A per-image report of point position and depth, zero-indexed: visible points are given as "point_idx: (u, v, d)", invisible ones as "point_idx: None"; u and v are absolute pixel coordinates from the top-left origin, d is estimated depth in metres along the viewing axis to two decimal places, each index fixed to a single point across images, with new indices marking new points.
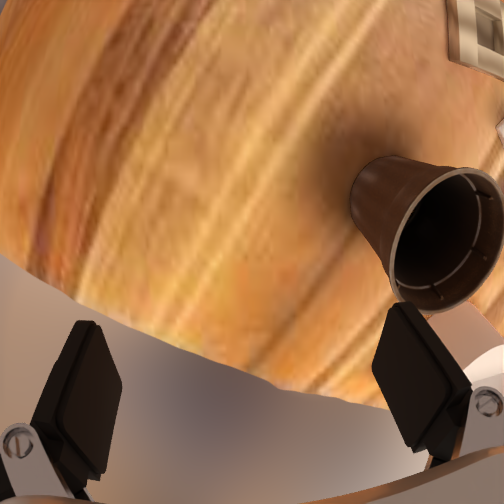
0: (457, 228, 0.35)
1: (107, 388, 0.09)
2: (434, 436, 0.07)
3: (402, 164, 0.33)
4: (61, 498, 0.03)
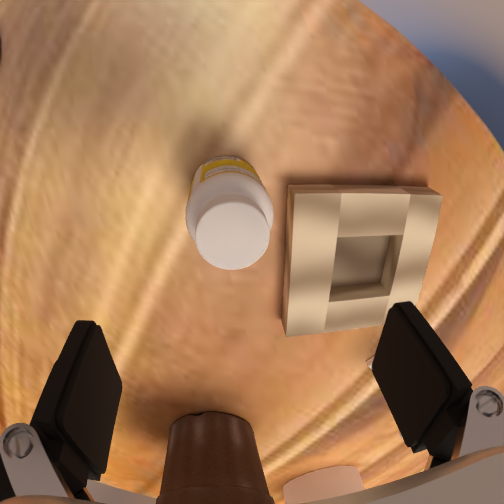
0: None
1: (107, 388, 0.09)
2: (434, 436, 0.07)
3: (188, 452, 0.33)
4: (61, 498, 0.03)
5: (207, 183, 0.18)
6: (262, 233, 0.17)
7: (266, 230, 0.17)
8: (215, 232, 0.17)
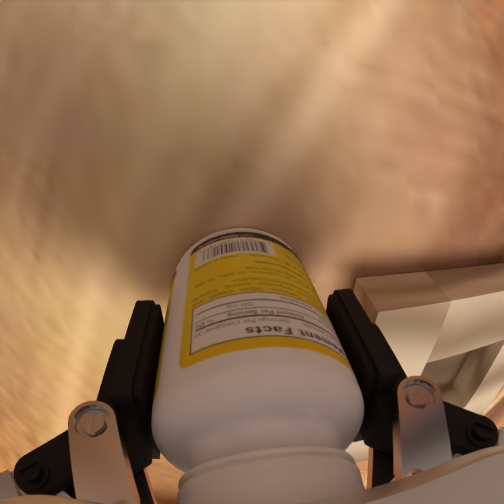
0: None
1: None
2: (366, 424, 0.07)
3: None
4: (61, 498, 0.03)
5: (199, 390, 0.06)
6: None
7: None
8: None
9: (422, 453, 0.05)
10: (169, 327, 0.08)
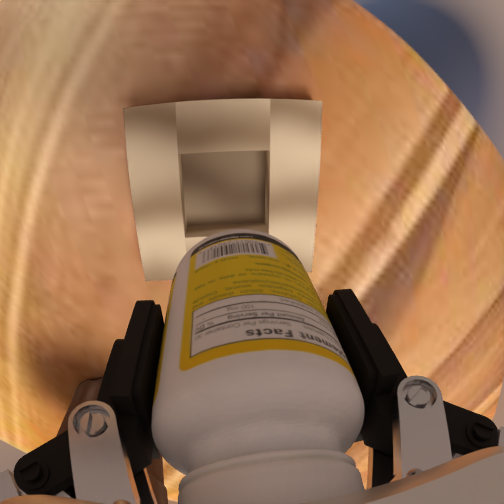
0: None
1: None
2: (366, 424, 0.07)
3: None
4: (61, 498, 0.03)
5: (199, 393, 0.06)
6: None
7: None
8: None
9: (422, 453, 0.05)
10: (169, 329, 0.08)
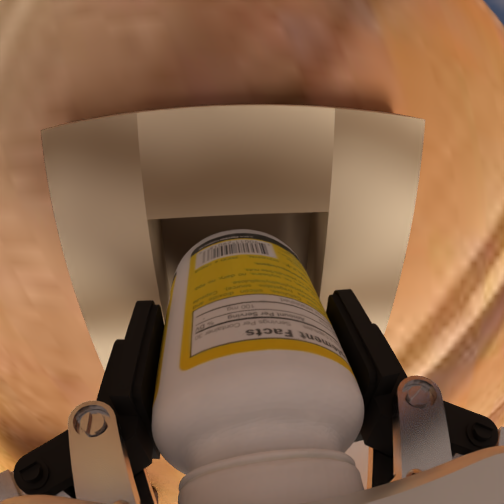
0: None
1: None
2: (366, 425, 0.07)
3: None
4: (61, 498, 0.03)
5: (200, 393, 0.06)
6: None
7: None
8: None
9: (422, 453, 0.05)
10: (169, 329, 0.08)
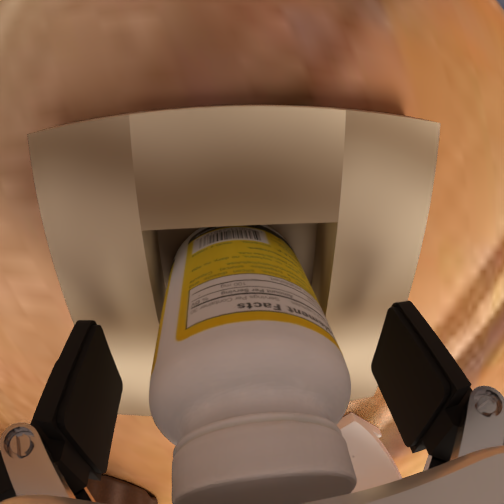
0: None
1: (108, 388, 0.09)
2: (433, 436, 0.07)
3: None
4: (61, 498, 0.03)
5: (193, 359, 0.06)
6: (339, 492, 0.05)
7: (350, 488, 0.05)
8: None
9: None
10: (167, 308, 0.09)
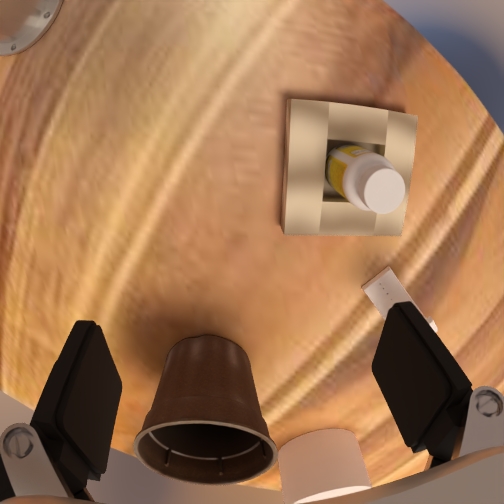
0: None
1: (107, 388, 0.09)
2: (434, 436, 0.07)
3: (183, 367, 0.36)
4: (61, 498, 0.03)
5: (363, 157, 0.26)
6: (401, 191, 0.25)
7: (404, 189, 0.25)
8: (376, 186, 0.24)
9: None
10: (341, 159, 0.29)
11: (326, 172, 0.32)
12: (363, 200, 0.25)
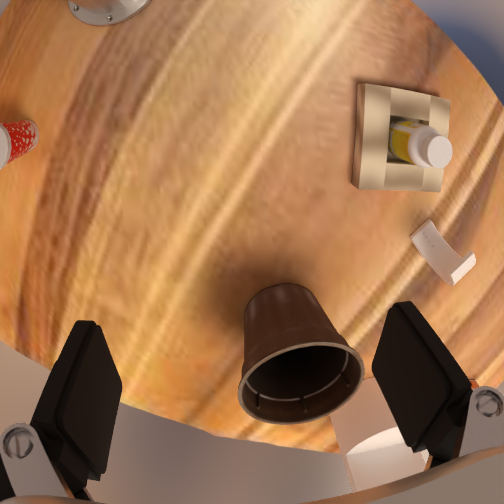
0: (334, 351, 0.45)
1: (107, 388, 0.09)
2: (434, 436, 0.07)
3: (274, 309, 0.43)
4: (61, 498, 0.03)
5: (422, 128, 0.32)
6: (450, 152, 0.31)
7: (451, 151, 0.31)
8: (435, 148, 0.31)
9: None
10: (403, 129, 0.35)
11: (388, 141, 0.38)
12: (426, 158, 0.32)
